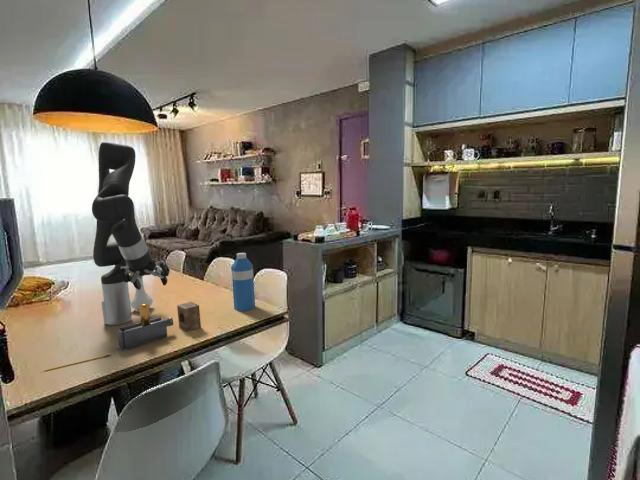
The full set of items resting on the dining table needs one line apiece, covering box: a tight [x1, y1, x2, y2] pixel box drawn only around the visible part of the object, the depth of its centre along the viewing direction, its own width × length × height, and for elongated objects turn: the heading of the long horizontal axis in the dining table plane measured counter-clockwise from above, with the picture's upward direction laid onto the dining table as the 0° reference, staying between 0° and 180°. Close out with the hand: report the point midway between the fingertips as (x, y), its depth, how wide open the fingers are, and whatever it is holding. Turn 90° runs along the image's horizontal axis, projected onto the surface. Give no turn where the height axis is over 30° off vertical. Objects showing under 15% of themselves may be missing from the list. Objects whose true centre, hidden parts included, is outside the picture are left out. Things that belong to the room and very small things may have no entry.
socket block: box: [176, 301, 202, 332], centre depth 135 cm, size 6×7×9 cm
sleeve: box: [116, 316, 168, 351], centre depth 123 cm, size 15×5×6 cm, turn 136°
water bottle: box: [230, 252, 256, 312], centre depth 155 cm, size 9×9×25 cm
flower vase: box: [126, 263, 155, 313], centre depth 157 cm, size 13×18×25 cm
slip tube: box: [124, 303, 174, 331], centre depth 124 cm, size 16×3×11 cm, turn 136°
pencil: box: [41, 353, 113, 373], centre depth 109 cm, size 19×1×1 cm, turn 122°
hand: (152, 285), depth 121 cm, fingers open, 8 cm apart
